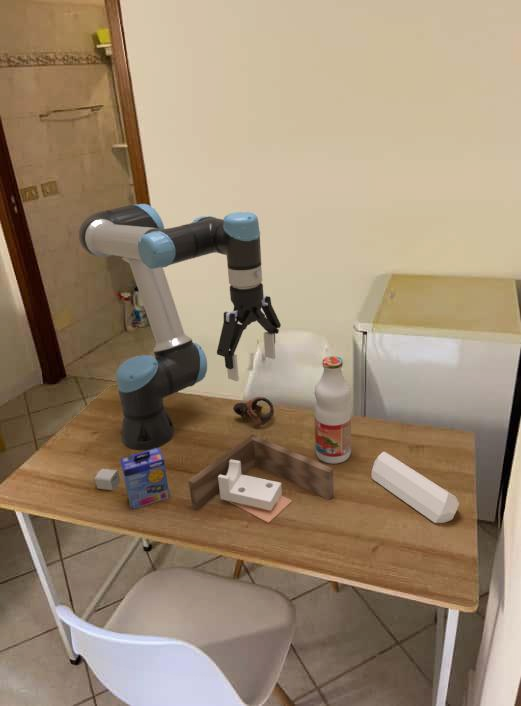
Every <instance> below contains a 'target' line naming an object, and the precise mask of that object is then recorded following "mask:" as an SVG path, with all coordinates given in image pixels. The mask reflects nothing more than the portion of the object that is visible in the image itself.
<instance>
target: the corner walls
mask: <svg viewBox="0 0 521 706" xmlns="http://www.w3.org/2000/svg"><path fill="white" fill-rule="evenodd" d="M231 459H232V460H237V461H240V462H241V473H242V475H245V473H247V472H249V470H251V469H252V468H254V467H255V466H256V467H258V468H261V469H263V470H265V471H267V472H269V473H271V474H274V475H276V476H278V477H280V478H282V479H284V480H286V481H288V482H290V483H293V484H294V485H296V486H299V487H300V488H304V489H306V490H308V491H310V492H312V493H314V494H316V495H319V496H320V497H322V498H325V499H327V500H330V499H332V498H333V497H334V468H332V467H330V466H328V465H325V464H323V463H320V462H319V461H317V460H314V459H311V458H308V457H307V456H305V455H302V454H299V452H298V453H297V452H295V451H292V450H290V449H288V448H286V447H283V446H281V445H278V444H276V443H275V442H274V443H273V442H272V441H269V440H266V439H264V438H262V437H259V436H258V435H255V434H253V433H252V434H251V435H249V436H248V437H247V438H245V439H244V440H242V441H241V442H240V443H238V444H236V445H235V446H234V447H233V448H231V449H230V450H229V451H227V452H225V453H224V454H223V455H221V456H220V457H218V458H217V459H216V460H215V461H212V463H210V464H209V465H208V466H206V467H205V468H203V469H202V470H201V471H199V472H198V473H196V474H195V475H194V476H192V477H191V478H190V479H188V489H189V494H190V500H191V507H192V508H193V509H195V510H196V511H198V510H199V509H201V508H202V507H204V506H205V505H206V504H207V503H209V501H211V500H212V499H214V498H215V497H216V496H217V495H220V489H219V481H218V476H219V475H225V476H226V475H227V473H228V469H229V461H230V460H231Z"/></svg>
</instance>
